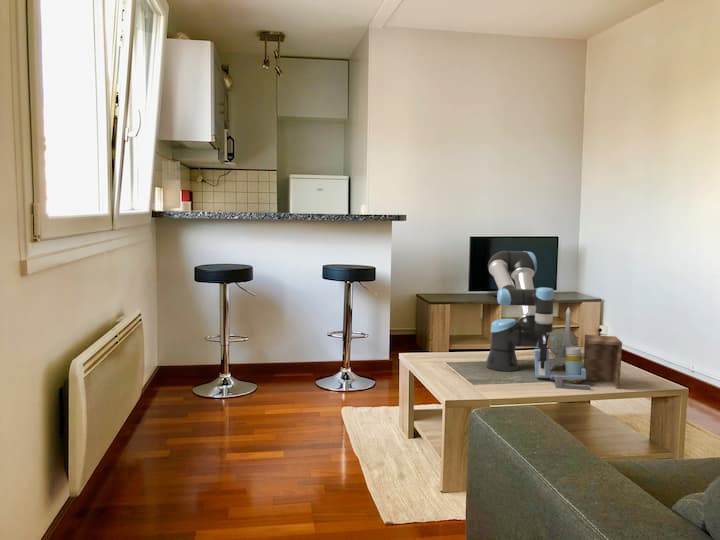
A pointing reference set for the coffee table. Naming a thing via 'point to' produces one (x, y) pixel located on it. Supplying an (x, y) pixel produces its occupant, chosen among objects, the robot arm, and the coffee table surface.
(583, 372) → the pale blue bracket stand
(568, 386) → the grey long bar
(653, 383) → the coffee table surface
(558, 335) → the decorative sphere
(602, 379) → the cubby
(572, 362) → the bottle
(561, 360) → the eiffel tower
